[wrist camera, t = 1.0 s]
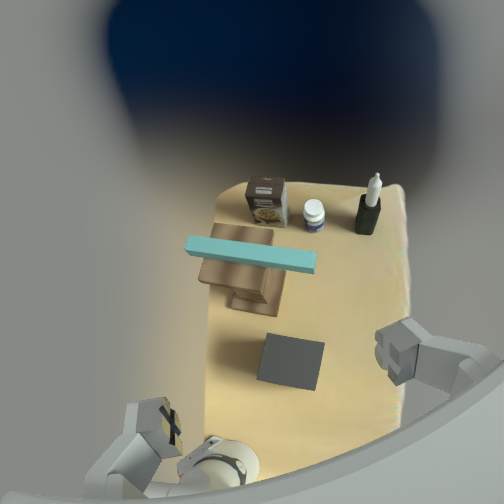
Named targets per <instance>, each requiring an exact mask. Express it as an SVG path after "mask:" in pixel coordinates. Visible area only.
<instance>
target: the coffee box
mask: <svg viewBox="0 0 504 504" xmlns="http://www.w3.org/2000/svg"><path fill="white" fill-rule="evenodd" d="M245 197H246V199H247V202H248V204H249V207H250V210H251V212H252V215H253V217H254V220H255V222H256V225H263V226H272V227H282V228H287V223H288V217H289V212H290V209H289V204H288V198H287V192H286V185H285V179H284V178H280V177H264V176H250V178H249V181H248V185H247V189H246V193H245Z"/></svg>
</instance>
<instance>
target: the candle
mask: <svg viewBox="0 0 504 504" xmlns="http://www.w3.org/2000/svg"><path fill="white" fill-rule="evenodd" d="M381 186H382V182H381V180H380V179H379V173H376V176H375V177H373V178H371V179H370V181H369V185H368V190H367V194H363V195H361V198H360V203H359V208H358V213H357V217H356V230H355V231H356V233H357V234H362V235H372V234H373V231H374V228H375V225H376V222H377V219H378V216H379V213H380V210H381V204H380V197H379V193H380V190H381Z"/></svg>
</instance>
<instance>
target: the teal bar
mask: <svg viewBox="0 0 504 504" xmlns="http://www.w3.org/2000/svg"><path fill="white" fill-rule="evenodd" d="M184 250H185V251H186V252H187V253H188V254H189V255H191V256H197V257H203V258H210V259H216V260H223V261H229V262H236V263H242V264H249V265H255V266H262V267H269V268H275V269H282V270H289V271H296V272H302V273H309V274H314V272H315V266H316V260H317V252H312V251H305V250H298V249H290V248H283V247H276V246H268V245H261V244H253V243H246V242H238V241H230V240H223V239H215V238H208V237H200V236H191V235H189V236H188V239H187V242H186V246H185V249H184Z"/></svg>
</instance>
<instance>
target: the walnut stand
mask: <svg viewBox="0 0 504 504" xmlns="http://www.w3.org/2000/svg"><path fill="white" fill-rule="evenodd" d="M210 238H215V239H223V240H230V241H238V242H246V243H253V244H261V245H268V246H272V243H273V238H274V231H273V230H271V229H263V228H255V227H246V226H237V225H229V224H220V223H214V225H213V229H212V232H211V236H210ZM285 276H286V271H284V270H278V269H271V268H269V267H262V266H255V265H249V264H242V263H236V262H229V261H223V260H216V259H210V258H204V260H203V263H202V267H201V270H200V274H199V277H198V280H199V281H200V282H201V283H205V284H211V285H216V286H221V287H227V288H231V289H232V290H233V291H234V296H233V300H232V304H231V308H232V309H236V310H241V311H246V312H252V313H257V314H263V315H268V316H274V317H277V315H278V310H279V305H280V301H281V296H282V291H283V286H284V281H285Z"/></svg>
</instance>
